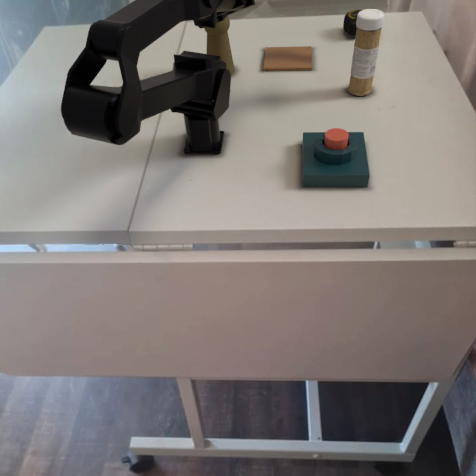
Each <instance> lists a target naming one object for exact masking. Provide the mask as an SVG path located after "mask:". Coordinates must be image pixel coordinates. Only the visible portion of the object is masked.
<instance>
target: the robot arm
mask: <svg viewBox="0 0 476 476" xmlns="http://www.w3.org/2000/svg"><path fill="white" fill-rule="evenodd" d="M253 6H256V2H255V0H133V1H131V2H130V3H128V4H127V5H125V6H123V7H122V8H120V9H119V10H117V11H115V12H114V13H112V14H111V15H109V16H107V17H106V18H104V19H99V20H97V21H93V22H92V24H90V26H89V29H88V32H87V37H86V41H85V45H84V47H83V49H82V50H81V52H80V54H79V55H78V56H77V58H76V59H75V60H74V62H73V63H72V65H71V66H70V67H69V69H68V71H67V73H66V74H67V75H66V79H65V83H64V89H63V94H62V98H61V104H60V113H61V117H62V119H63V122H64V126H65V128H66V129H67V131H68V132H70V134H71V135H73V136H76V137H81V138H84V139H85V138H86V139H89V140H93V141H98V142H102V143H107V144H110V145H116V146H123V145H125V144H126V143H128V142H129V141H131V140H132V139H134V137H136V136H137V135H138V134H140V132H141V125H142V121H144V120H148V119H150V118H152V117H154V116H157V115H159V114H162V113H164V112H166V111H169V110H170V112H171V113H174V114H175V113H177V114H182V115H183V120H184V127H185V133H186V138H185V141H184V145H183V154H184V155H220V154H222V151H223V144H224V138H225V131H224V130H221V129H220V121H219V120H220V118H221V117H223V115H224V114H225V112H227V111H228V109H229V107H230V97H231V84H232V75H231V74H230V71H229V70H228V69H227V68H226V66H227V64H226V62H225V61H221V56H216V55H209V54H207V53H201V52H195V51H189V50H183V51H182V52H181V53H179V54H175V53H174V54H173V61H174V62H173V63H172V70H169V71H166V72H163V73H160V74H157V75H153V76H150V77H147V78H143V79H140V75H139V70H138V63H139V58H140V54H141V52H142V51H144V50H146V48H148V47H149V46H150V45H152V44H154V42H156V41H157V40H158V39H159V38H162V37H163V36H164V35H166V34H167V33H168V32H169V31H171V30H172V29H173V28H174V27H176V26H177V25H179V24H180V23H183V22H187V21H193V24H194V26H195V27H198V28H199V29H200V30H201V29H204V28H206V27H208V28H216V23H218V22H221V21H223V20H224V19H225V18H226V17H227V16H230V15H233V14H235V13H238V12H240V11H243V10H245V9H248V8H250V7H253ZM107 61H115V62H118V67H119V70H120V76H121V80H122V84H121V86H108V85H96V84H92V83H93V81H94V80H95V79H96V78H97V77H98V74H99V73H100V72H101V70H102V69H103V68H104V67H105V65H106V63H107Z"/></svg>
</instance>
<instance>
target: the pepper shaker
mask: <svg viewBox="0 0 476 476" xmlns="http://www.w3.org/2000/svg"><path fill="white" fill-rule="evenodd" d="M229 16H230V15H228V16H227V17H226V18H225V19H224V20H223V21H221V22H218V23H216V28H208V27H206V28H203V29H204V31H205V32H206V54H209V55H216V56H221V61H225V62H226V64H227V66H226V68H227V69H228V70H229V71H230V74H231V76H233V75H234V74H235V71H236V69H235V64H234V59H233V53H232V48H231V43H230V37H229V29H230V26H231V20H230V17H229Z"/></svg>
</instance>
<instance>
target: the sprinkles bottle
mask: <svg viewBox="0 0 476 476" xmlns="http://www.w3.org/2000/svg"><path fill="white" fill-rule="evenodd" d="M361 10H362V11H360V12H359V13H358V15H357V22H356V26H357V27H356V28H357V30H356V36H355V37H354V44H353V45H354V46H353V54H352V57H351V67H350V77H349V85H348V92H349V93H350V94H351V95H353V96H357V97H359V96H360V97H363V96H367V95H369V94H371V93H372V91H373V82H374V77H375V73H376V68H377V67H376V66H377V61H378V56H379V55H378V54H379V48H380V40H381V34H382V29H383V26H384V23H385V13H384V11H383V10H380V9H376V8H366V9H361Z"/></svg>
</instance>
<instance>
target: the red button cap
mask: <svg viewBox="0 0 476 476" xmlns="http://www.w3.org/2000/svg"><path fill="white" fill-rule="evenodd" d="M325 132H326V133H325V139H324V146H325V147H326V148H328V149H331V150H342V149H345V148H346V147H347V143H348V136H349V134H348V132H349V131H347V130H346V129H343V128H339V127H334V128H330V129H327V130H325Z"/></svg>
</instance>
